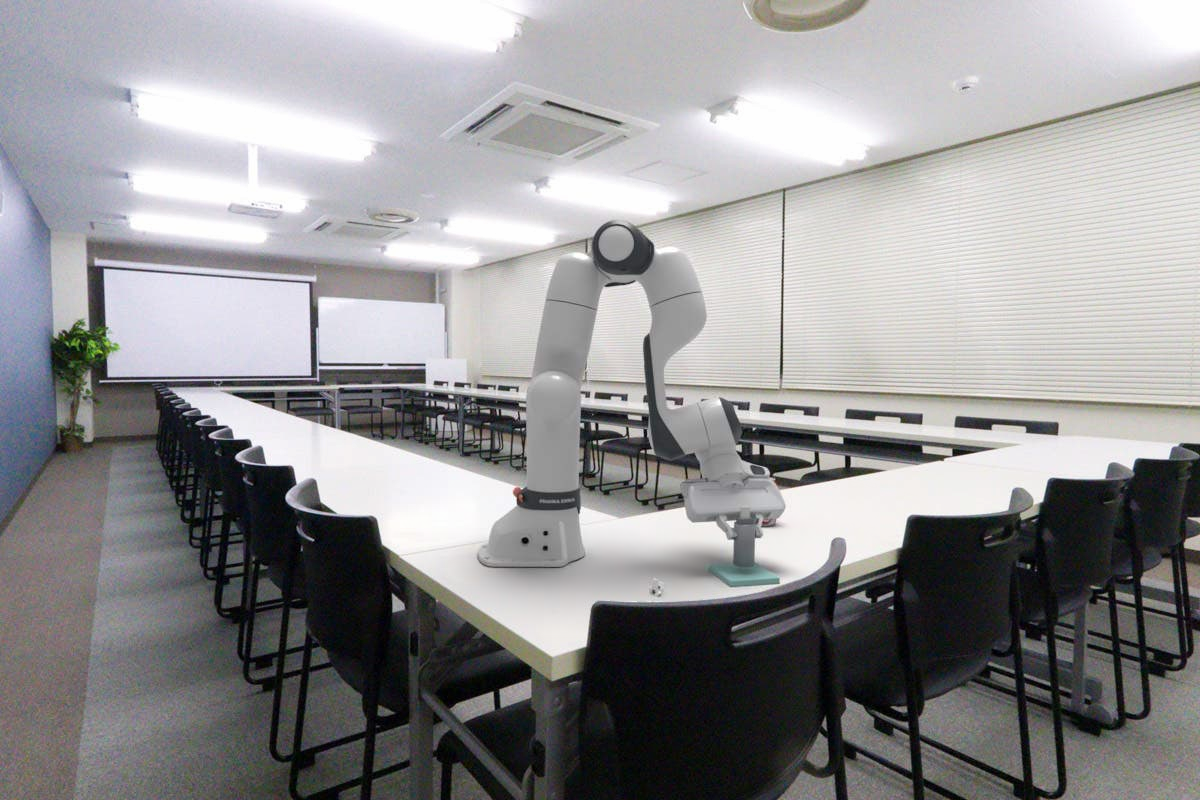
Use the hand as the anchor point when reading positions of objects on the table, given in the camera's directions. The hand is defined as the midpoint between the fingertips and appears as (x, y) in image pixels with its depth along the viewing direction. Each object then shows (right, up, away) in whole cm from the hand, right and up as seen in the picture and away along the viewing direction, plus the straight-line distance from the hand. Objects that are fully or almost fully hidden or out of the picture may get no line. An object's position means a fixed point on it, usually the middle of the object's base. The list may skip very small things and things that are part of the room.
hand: (745, 537), depth 121 cm
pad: (0, -8, +1) cm, 8 cm away
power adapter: (-17, -9, -9) cm, 21 cm away
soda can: (+14, -6, +43) cm, 45 cm away
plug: (0, -5, +1) cm, 5 cm away
